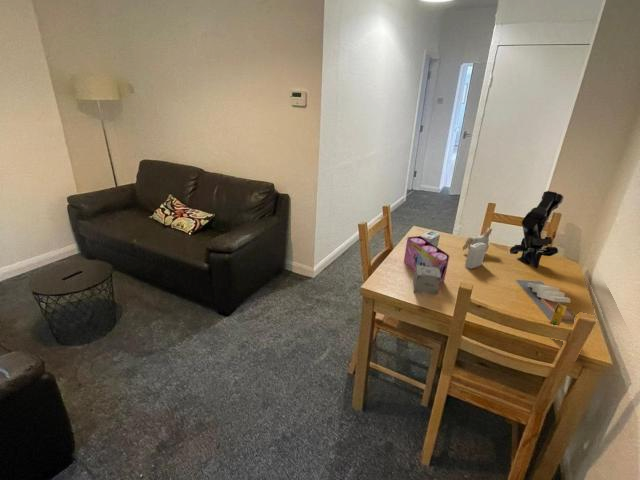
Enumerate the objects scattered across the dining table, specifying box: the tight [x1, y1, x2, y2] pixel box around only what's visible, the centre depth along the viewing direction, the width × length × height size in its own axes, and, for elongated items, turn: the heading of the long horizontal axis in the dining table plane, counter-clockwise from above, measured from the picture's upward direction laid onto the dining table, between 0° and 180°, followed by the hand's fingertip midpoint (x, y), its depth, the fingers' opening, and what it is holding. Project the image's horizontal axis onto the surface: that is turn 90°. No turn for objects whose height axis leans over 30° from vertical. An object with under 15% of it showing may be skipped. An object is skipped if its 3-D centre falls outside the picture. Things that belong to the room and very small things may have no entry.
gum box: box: [403, 235, 450, 284], centre depth 158 cm, size 24×8×14 cm, turn 19°
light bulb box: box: [419, 230, 441, 248], centre depth 178 cm, size 11×7×11 cm, turn 134°
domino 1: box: [528, 283, 560, 292], centre depth 146 cm, size 2×6×12 cm
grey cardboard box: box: [412, 265, 441, 295], centre depth 144 cm, size 10×8×10 cm
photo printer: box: [464, 243, 487, 270], centre depth 167 cm, size 10×4×12 cm, turn 123°
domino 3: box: [537, 293, 571, 303], centre depth 138 cm, size 2×6×12 cm
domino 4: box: [540, 298, 573, 320], centre depth 136 cm, size 2×6×12 cm
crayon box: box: [548, 300, 568, 327], centre depth 122 cm, size 7×3×12 cm, turn 138°
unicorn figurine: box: [462, 224, 493, 254], centre depth 181 cm, size 7×20×13 cm, turn 122°
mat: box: [515, 279, 576, 323], centre depth 143 cm, size 30×12×1 cm, turn 175°
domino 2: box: [532, 288, 565, 297], centre depth 142 cm, size 2×6×12 cm
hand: (536, 268), depth 152 cm, fingers closed
